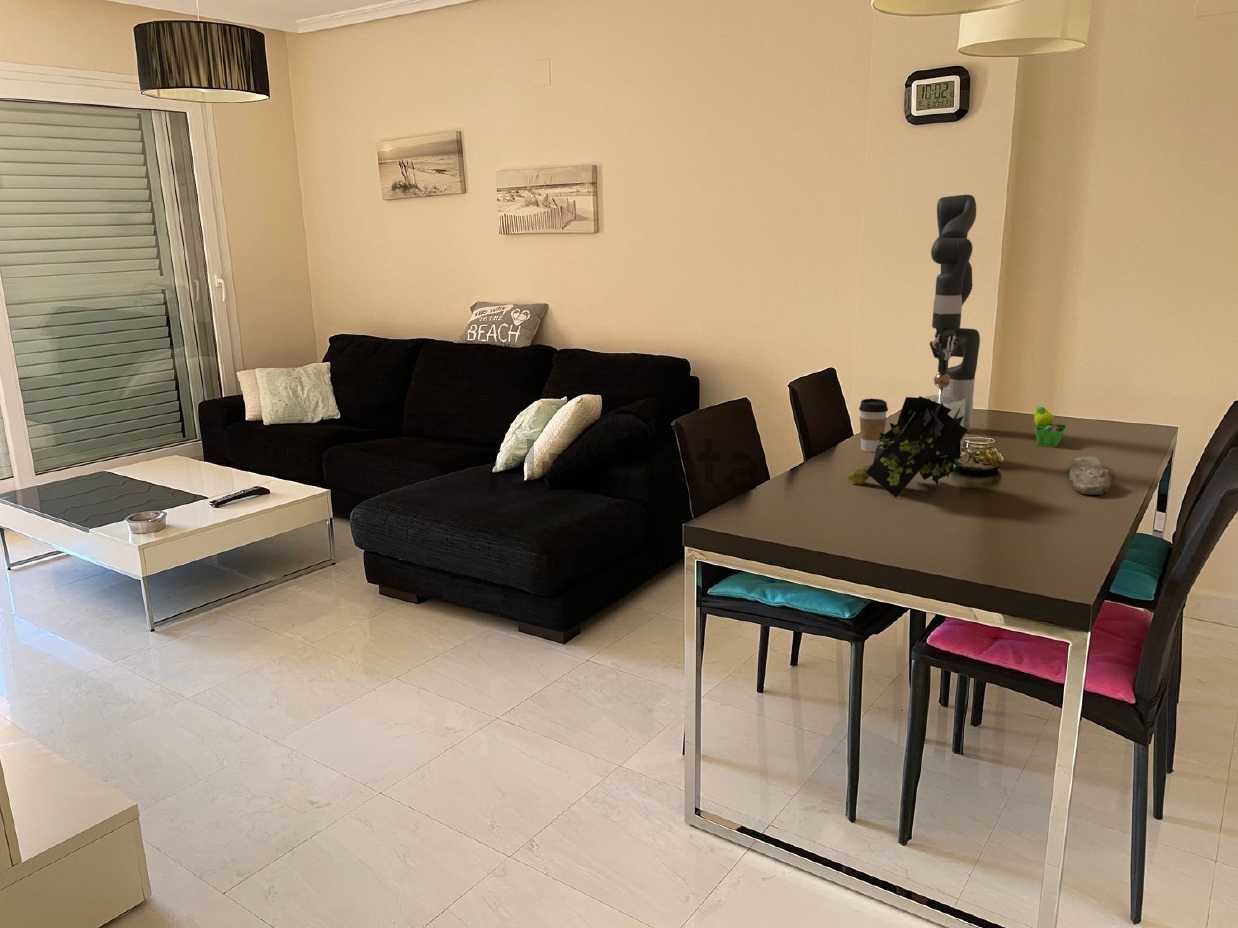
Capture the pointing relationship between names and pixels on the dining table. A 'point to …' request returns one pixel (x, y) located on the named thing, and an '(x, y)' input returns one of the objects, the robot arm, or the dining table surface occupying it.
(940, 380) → the plunger
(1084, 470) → the elongated rock
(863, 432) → the coffee cup
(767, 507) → the dining table surface
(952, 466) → the black leafy clump
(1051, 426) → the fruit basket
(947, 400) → the press
